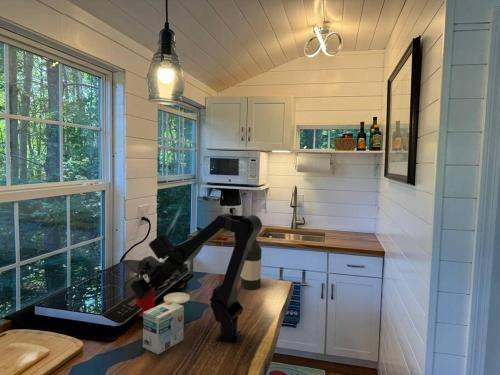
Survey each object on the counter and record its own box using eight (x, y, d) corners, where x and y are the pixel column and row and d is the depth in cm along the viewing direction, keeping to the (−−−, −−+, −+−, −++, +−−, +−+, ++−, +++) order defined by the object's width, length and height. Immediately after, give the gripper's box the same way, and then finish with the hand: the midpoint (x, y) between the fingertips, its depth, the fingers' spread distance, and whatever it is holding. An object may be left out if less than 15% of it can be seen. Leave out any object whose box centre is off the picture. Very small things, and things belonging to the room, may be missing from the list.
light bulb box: (158, 355, 99) (158, 318, 98) (141, 347, 103) (141, 312, 102) (184, 339, 108) (185, 305, 107) (168, 333, 112) (168, 300, 111)
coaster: (184, 305, 132) (184, 303, 132) (159, 302, 134) (159, 301, 134) (193, 295, 142) (193, 293, 142) (169, 292, 144) (169, 291, 144)
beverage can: (148, 308, 129) (148, 276, 128) (157, 314, 124) (157, 281, 123) (132, 313, 124) (132, 280, 123) (141, 319, 120) (141, 285, 119)
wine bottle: (260, 290, 150) (262, 220, 147) (240, 289, 150) (242, 219, 147) (260, 283, 158) (262, 217, 155) (241, 282, 158) (243, 216, 155)
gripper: (171, 244, 129) (147, 269, 135) (134, 257, 112) (109, 284, 118) (189, 269, 126) (164, 293, 132) (154, 285, 110) (127, 312, 115)
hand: (142, 294), depth 124 cm, fingers closed on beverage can, 6 cm apart
